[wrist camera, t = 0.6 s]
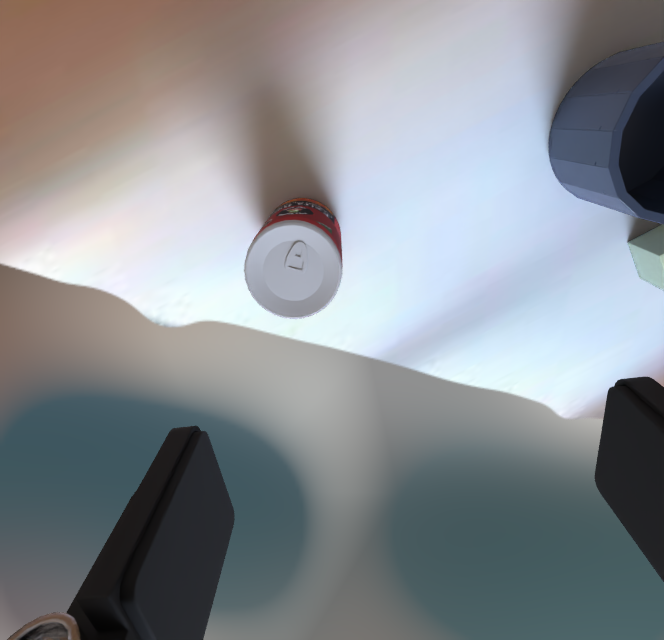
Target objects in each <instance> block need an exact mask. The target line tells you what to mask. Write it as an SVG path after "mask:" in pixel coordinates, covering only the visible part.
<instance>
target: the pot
mask: <svg viewBox="0 0 664 640" xmlns="http://www.w3.org/2000/svg"><path fill="white" fill-rule="evenodd" d="M549 156H550V162H551V166H552V169H553V171H554V174H555V176H556V178H557V179H558V181H559V182H560V183H561V185H562V186H563V187H564V188H565V189H566V190H568V191H569V192H570V193H572V194H573V195H575V196H576V197H577V198H580V199H583V200H586V201H589V202H592V203H595V204H598V205H601V206H604V207H607V208H610V209H613V210H616V211H619V212H623V213H626V214H629V215H632V216H635V217H638V218H641V219H645V220H649V221H653V222H657V223H661V224H664V42H661V43H656V44H652V45H648V46H644V47H639V48H635V49H631V50H627V51H622V52H619V53H617V54H615V55H613V56H611V57H609V58H607V59H605V60H603V61H601V62H600V63H598V64H597V65H595V66H594V67H592V68H591V69H590V70H589V71H587V72H586V73H585V74H584V75H583V76H582V77H581V78H580V79H579V80H578V81H577V82H576V83H575V84H574V85H573V87H572V88H571V89H570V90H569V92H568V93H567V94H566V96H565V98H564V99H563V101H562V103H561V104H560V106H559V108H558V110H557V113H556V115H555V118H554V121H553V123H552V127H551V132H550V138H549Z"/></svg>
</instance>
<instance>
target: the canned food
mask: <svg viewBox="0 0 664 640" xmlns="http://www.w3.org/2000/svg"><path fill="white" fill-rule="evenodd" d="M244 272H245V280H246V283H247V286H248V289H249V291H250V293H251V294H252V296H253V298H254V299H255V300H256V301H257V302H258V304H259V305H260V306H262V307H263V308H264V309H265V310H267V311H269V312H270V313H272V314H274V315H277V316H280V317H283V318H290V319H297V318H304V317H309V316H311V315H314V314H316V313H318V312H319V311H321V310H322V309H324V308H325V307H326V306H327V305H328V304H329V303H330V302H331V301H332V299H333V298H334V296H335V295H336V293H337V291H338V288H339V285H340V282H341V277H342V248H341V232H340V227H339V224H338V222H337V220H336V218H335V216H334V215H333V213H332V212H331V211H330V210H329V209H328V208H327V207H326V206H325V205H323V204H321V203H320V202H318V201H315V200H312V199H307V198H296V199H292V200H289V201H287V202H285V203H283V204H281V205H280V206H279V207H278V208H276V209H275V210H274V212H273V213H272V214H271V215H270V217H269V218H268V220H267V221H266V222H265V224H264V225H263V227H262V228H261V229H260V231H259V232H258V234H257V235H256V236H255V238H254V240H253V241H252V243H251V245H250V247H249V249H248V252H247V256H246V260H245V268H244Z"/></svg>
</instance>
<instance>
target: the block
mask: <svg viewBox="0 0 664 640" xmlns="http://www.w3.org/2000/svg"><path fill="white" fill-rule="evenodd" d="M628 245H629V248H630V251H631V254H632V257H633V260H634V263H635V266H636V269H637V271H638V274H639V277H640V279H642V280H644V281H646V282H648V283H650V284H652V285H653V286H655V287H657V288H659V289H661V290H663V291H664V224H662V225H660V226H658V227H656V228H654V229H652V230H651V231H649V232H647V233H645V234H643V235H641V236H639V237H637V238H635V239H633V240H631V241H629V242H628Z"/></svg>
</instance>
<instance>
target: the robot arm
mask: <svg viewBox="0 0 664 640" xmlns="http://www.w3.org/2000/svg"><path fill="white" fill-rule="evenodd" d="M595 482H596V485H597V488H598V490H599V492H600V493H601V495H602V496H603V498H604V499H605V500H606V502H607V503H608V505H609V506H610V507H611V509H612V510H613V512H614V513H615V514H616V516H617V517H618V518H619V520H620V521H621V523H622V524H623V526H624V527H625V528H626V530H627V531H628V533H629V534H630V535H631V537H632V538H633V540H634V541H635V542H636V544H637V545H638V547H639V548H640V549H641V551H642V552H643V554H644V555H645V556H646V558H647V559H648V561H649V562H650V563H651V565H652V566H653V567H654V569H655V570H656V572H657V573H658V575H659V576H660V577H661V579H662V580H663V582H664V387H663V386H661V385H660V384H659V383H658V382H656V381H655V380H654V379H652V378H650V377H637V378H628V379H620V380H618V381H617V382H616V383H615V386H614V387H611V388H610V389H609V390H608V394H607V401H606V407H605V413H604V419H603V426H602V433H601V439H600V445H599V451H598V457H597V464H596V471H595ZM233 525H234V510H233V506H232V503H231V500H230V497H229V494H228V491H227V489H226V486H225V483H224V480H223V477H222V474H221V471H220V468H219V465H218V463H217V460H216V457H215V454H214V451H213V448H212V445H211V442H210V439H209V437H208V434H207V432H205V431H201V430H200V429H199V427H198V426H190V427H181V428H174V429H172V430H171V431H170V432H169V434H168V436H167V437H166V439H165V441H164V443H163V445H162V446H161V448H160V450H159V452H158V454H157V456H156V457H155V459H154V461H153V463H152V464H151V466H150V468H149V470H148V471H147V473H146V475H145V477H144V479H143V480H142V482H141V484H140V486H139V487H138V489H137V491H136V492H135V494H134V495H133V496H132V497H131V499H130V501H129V503H128V504H127V506H126V508H125V510H124V512H123V513H122V515H121V517H120V519H119V520H118V522H117V524H116V526H115V528H114V529H113V531H112V533H111V535H110V536H109V538H108V540H107V542H106V543H105V545H104V547H103V549H102V551H101V552H100V554H99V556H98V558H97V559H96V561H95V563H94V565H93V566H92V569H91V570H90V572H89V574H88V575H87V577H86V579H85V581H84V582H83V584H82V586H81V588H80V590H79V592H78V593H77V595H76V597H75V598H74V600H73V602H72V604H71V606H70V608H69V609H68V611H67V613H51V614H47V615H44V616H41V617H39V618H37V619H35V620H33V621H31V622H29V623H28V624H26V625H24V626H23V627H22V628H21V629H19V630H18V631H17V632H15V633H14V634H13V635H12V636H10V637H9V638H8V639H7V640H203V638H204V634H205V630H206V626H207V623H208V619H209V615H210V611H211V608H212V604H213V600H214V597H215V593H216V589H217V585H218V582H219V578H220V574H221V570H222V567H223V563H224V559H225V555H226V551H227V548H228V544H229V540H230V536H231V533H232V529H233Z"/></svg>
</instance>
